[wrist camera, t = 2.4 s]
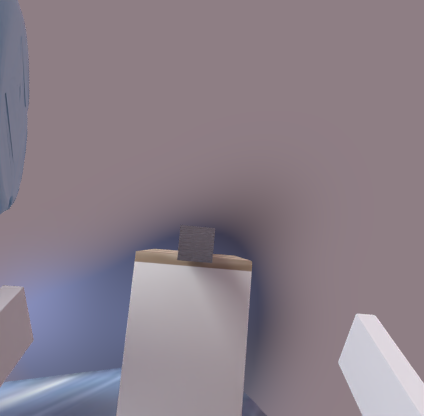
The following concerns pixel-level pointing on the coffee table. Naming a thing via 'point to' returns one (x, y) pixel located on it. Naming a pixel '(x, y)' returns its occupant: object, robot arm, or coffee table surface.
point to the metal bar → (196, 244)
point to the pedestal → (185, 336)
